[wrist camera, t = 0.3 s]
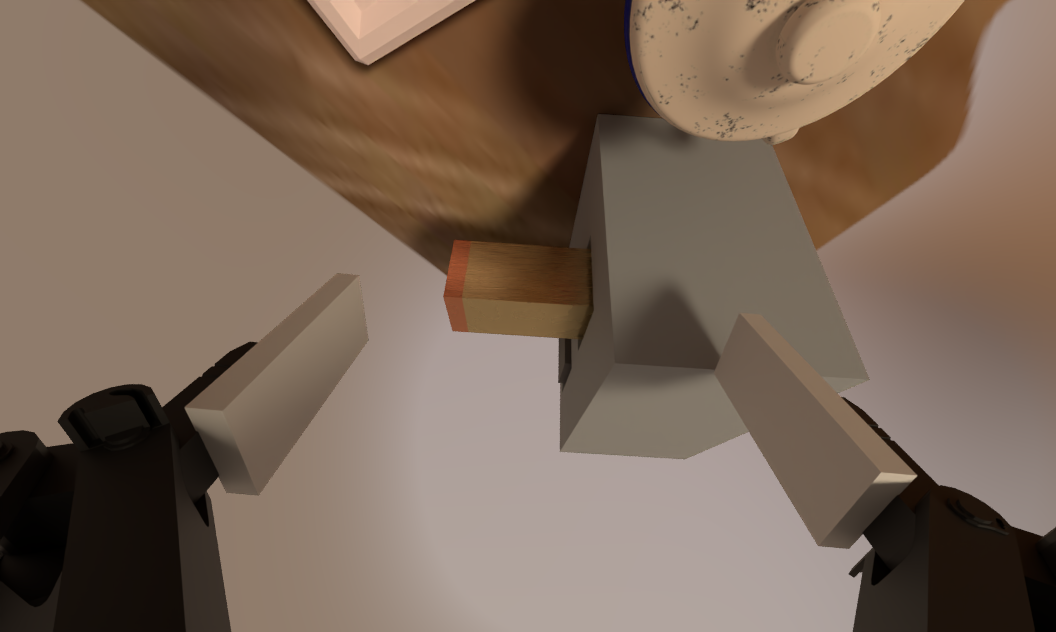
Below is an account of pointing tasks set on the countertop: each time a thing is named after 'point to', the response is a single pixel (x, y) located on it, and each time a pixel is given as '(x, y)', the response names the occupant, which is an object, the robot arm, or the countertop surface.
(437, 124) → the countertop surface
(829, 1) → the teacup with lid
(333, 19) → the soap bar
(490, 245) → the plunger
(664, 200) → the panel
